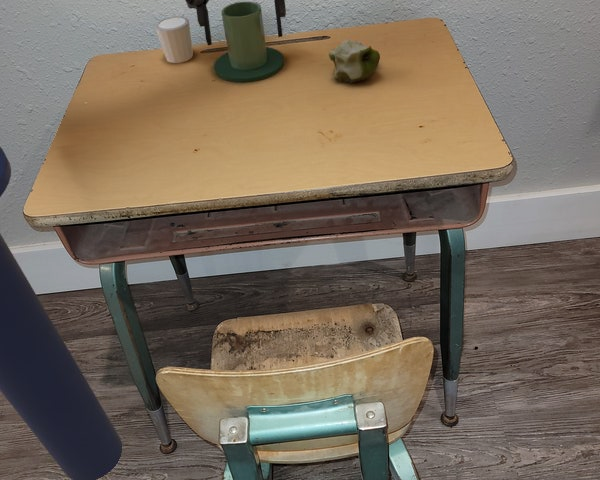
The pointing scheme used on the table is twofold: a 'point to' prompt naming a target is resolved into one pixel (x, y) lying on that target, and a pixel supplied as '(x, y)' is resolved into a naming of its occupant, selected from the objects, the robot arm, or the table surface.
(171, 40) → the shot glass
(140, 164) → the table surface
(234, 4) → the green cup
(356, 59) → the grey and green rock
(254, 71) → the green mat
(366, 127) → the table surface
